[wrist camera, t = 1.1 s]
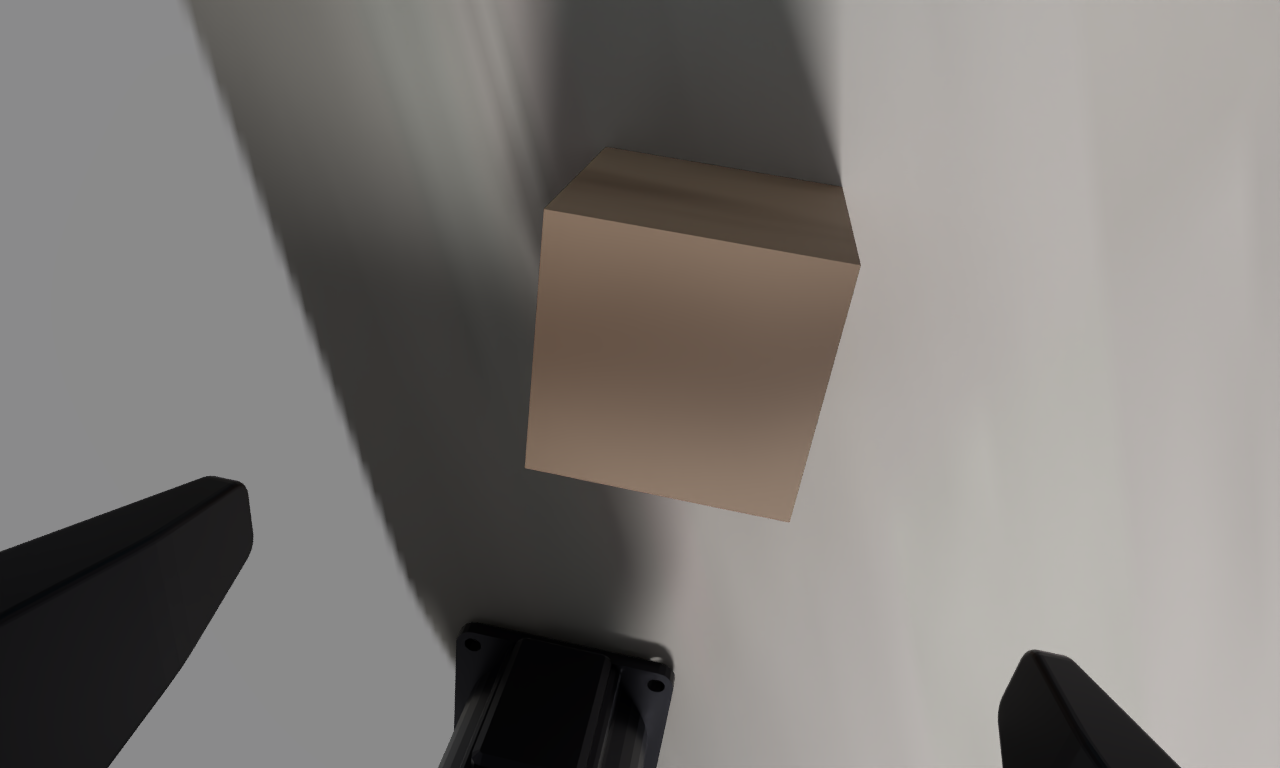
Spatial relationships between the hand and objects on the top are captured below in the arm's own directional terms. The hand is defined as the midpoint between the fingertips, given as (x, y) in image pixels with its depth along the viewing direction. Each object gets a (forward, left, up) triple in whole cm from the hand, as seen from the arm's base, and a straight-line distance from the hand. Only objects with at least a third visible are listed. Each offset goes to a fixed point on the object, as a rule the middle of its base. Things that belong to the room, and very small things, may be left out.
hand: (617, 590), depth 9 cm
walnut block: (0, 0, -10) cm, 10 cm away
